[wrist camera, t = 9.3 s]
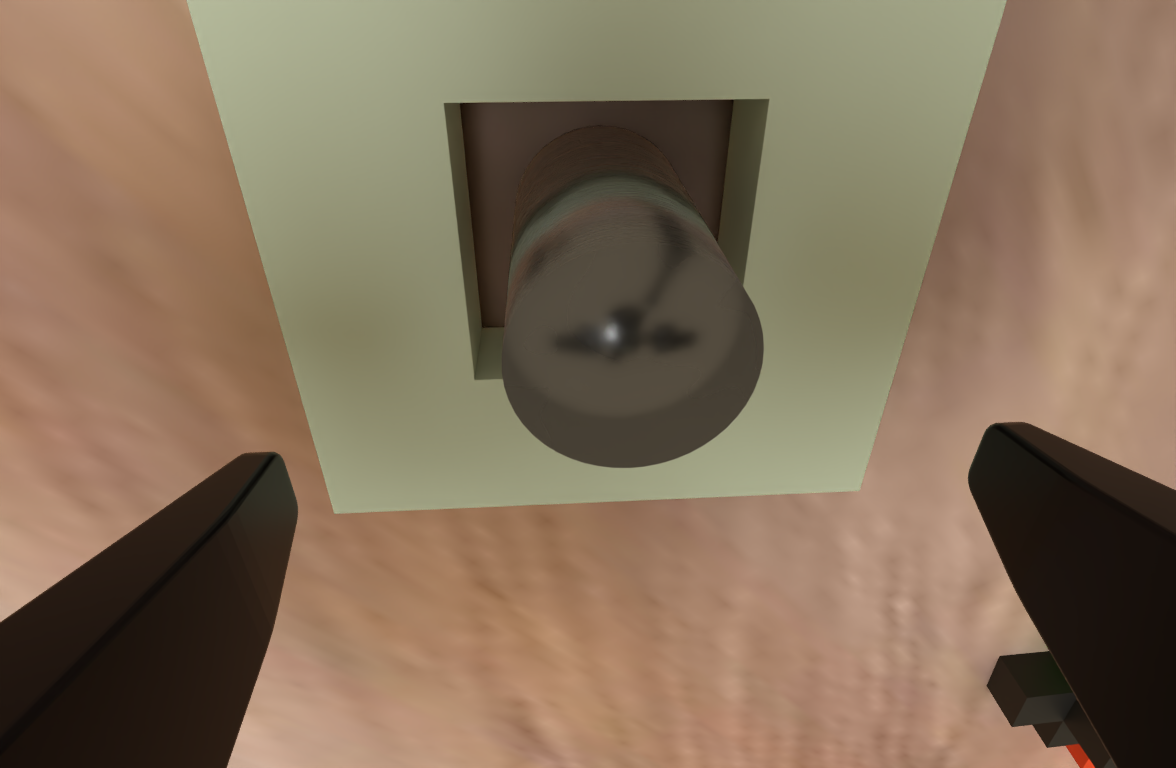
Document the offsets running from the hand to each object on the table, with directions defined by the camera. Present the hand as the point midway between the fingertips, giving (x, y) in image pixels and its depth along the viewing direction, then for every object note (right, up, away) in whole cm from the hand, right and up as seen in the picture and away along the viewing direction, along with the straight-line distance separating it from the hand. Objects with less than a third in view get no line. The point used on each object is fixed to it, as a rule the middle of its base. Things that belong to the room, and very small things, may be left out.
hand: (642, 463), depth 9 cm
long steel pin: (0, +5, +7) cm, 9 cm away
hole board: (0, +5, +7) cm, 9 cm away
